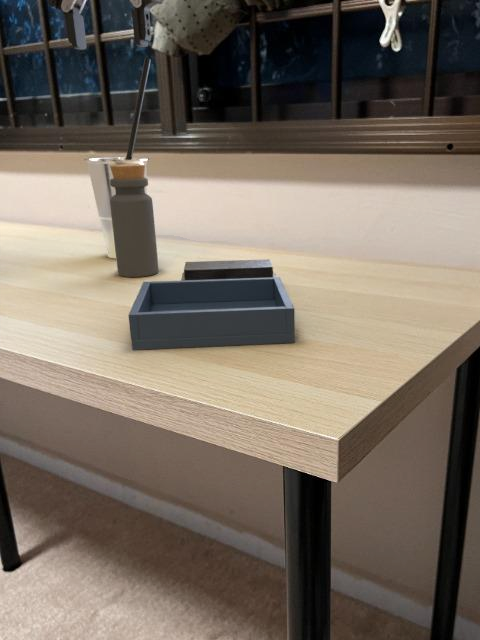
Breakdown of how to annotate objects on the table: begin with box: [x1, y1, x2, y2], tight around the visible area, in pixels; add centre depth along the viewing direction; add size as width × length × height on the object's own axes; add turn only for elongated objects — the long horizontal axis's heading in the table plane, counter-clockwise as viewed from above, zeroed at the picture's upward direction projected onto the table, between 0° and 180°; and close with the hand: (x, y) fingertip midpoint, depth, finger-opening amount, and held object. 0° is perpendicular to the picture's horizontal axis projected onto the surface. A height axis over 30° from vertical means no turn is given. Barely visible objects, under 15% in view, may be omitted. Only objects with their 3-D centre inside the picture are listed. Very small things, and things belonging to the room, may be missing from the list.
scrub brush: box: [180, 258, 277, 281], centre depth 78 cm, size 12×6×4 cm, turn 97°
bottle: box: [110, 164, 159, 278], centre depth 87 cm, size 6×6×15 cm
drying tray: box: [128, 276, 296, 351], centre depth 64 cm, size 16×14×4 cm
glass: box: [83, 57, 151, 260], centre depth 97 cm, size 11×11×30 cm
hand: (110, 47), depth 75 cm, fingers open, 8 cm apart
